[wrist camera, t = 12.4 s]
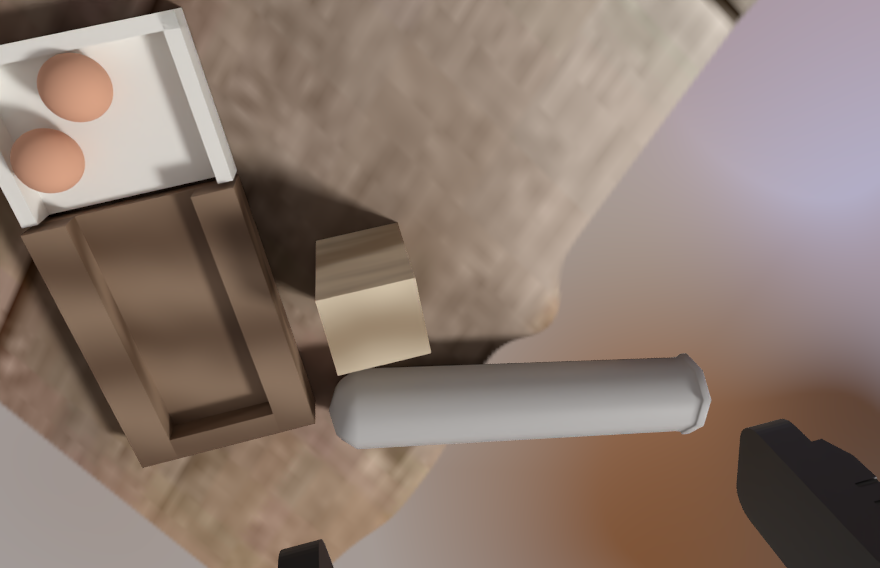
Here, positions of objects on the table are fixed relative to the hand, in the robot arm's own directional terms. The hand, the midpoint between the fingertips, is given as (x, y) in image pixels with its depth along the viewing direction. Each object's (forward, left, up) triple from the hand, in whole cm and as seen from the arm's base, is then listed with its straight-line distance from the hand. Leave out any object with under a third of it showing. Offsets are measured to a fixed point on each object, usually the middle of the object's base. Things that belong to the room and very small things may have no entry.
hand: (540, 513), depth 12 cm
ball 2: (-5, -16, -26) cm, 31 cm away
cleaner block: (+7, -3, -28) cm, 29 cm away
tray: (-5, -14, -28) cm, 32 cm away
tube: (+18, +5, -28) cm, 34 cm away
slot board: (+7, -14, -28) cm, 32 cm away
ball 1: (-8, -14, -27) cm, 32 cm away
